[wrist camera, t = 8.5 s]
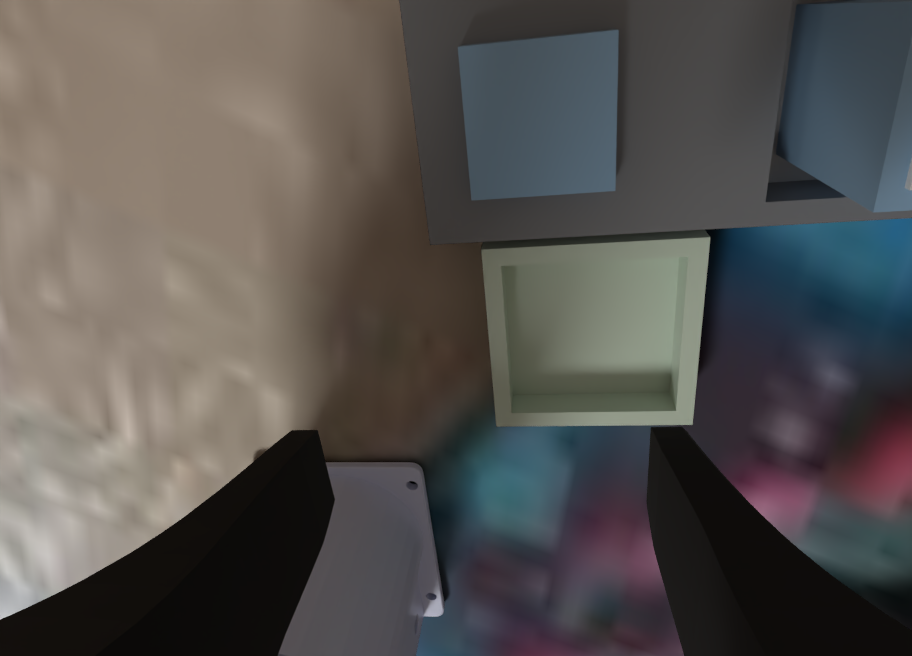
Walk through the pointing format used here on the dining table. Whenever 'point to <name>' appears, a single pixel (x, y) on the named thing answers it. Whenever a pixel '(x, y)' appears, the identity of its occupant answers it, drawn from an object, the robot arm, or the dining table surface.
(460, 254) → the dining table surface
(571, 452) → the dining table surface
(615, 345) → the tray
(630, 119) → the grey busybox board
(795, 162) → the plug
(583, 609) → the dining table surface
